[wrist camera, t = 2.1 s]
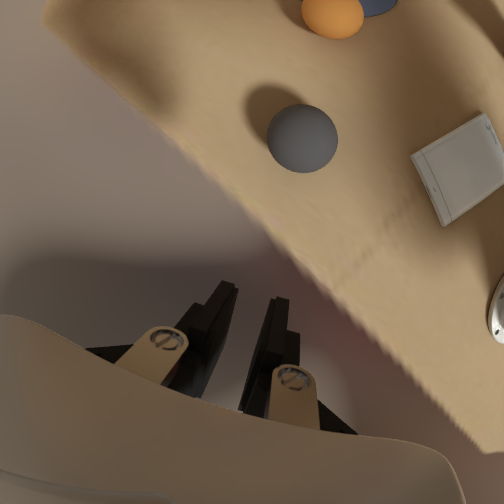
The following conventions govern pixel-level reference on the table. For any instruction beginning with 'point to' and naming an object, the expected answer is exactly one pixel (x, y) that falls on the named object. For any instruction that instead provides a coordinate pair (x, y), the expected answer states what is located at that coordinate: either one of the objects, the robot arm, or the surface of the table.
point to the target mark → (376, 6)
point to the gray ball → (302, 138)
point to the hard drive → (461, 168)
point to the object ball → (333, 17)
